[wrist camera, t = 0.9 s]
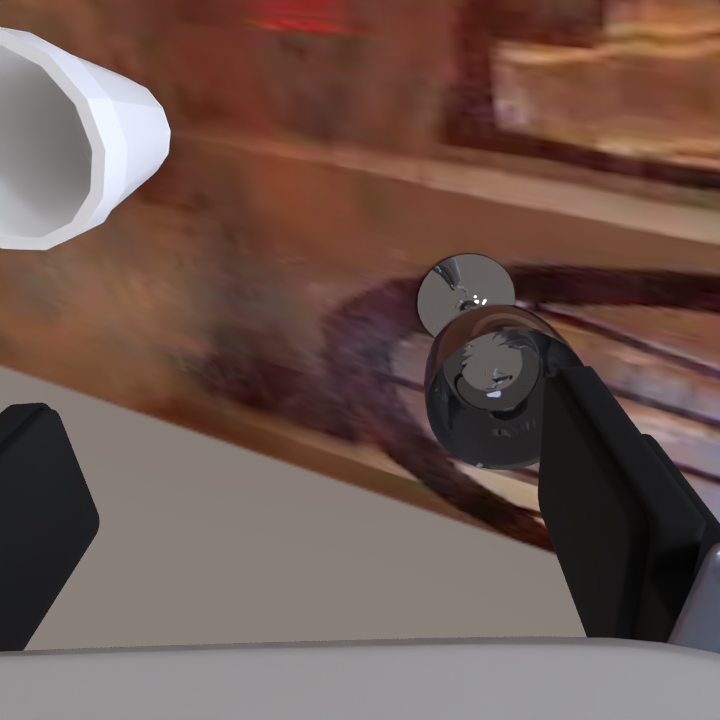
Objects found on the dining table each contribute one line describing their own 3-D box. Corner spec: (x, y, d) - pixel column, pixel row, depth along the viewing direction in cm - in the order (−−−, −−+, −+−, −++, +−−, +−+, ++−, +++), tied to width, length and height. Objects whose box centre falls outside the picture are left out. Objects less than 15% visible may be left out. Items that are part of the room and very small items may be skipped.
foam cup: (20, 112, 36) (-153, 121, 24) (116, 12, 34) (-26, -32, 22) (127, 230, 39) (20, 287, 28) (223, 146, 37) (149, 171, 25)
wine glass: (517, 348, 42) (581, 467, 29) (412, 352, 43) (427, 472, 29) (523, 244, 39) (600, 324, 25) (409, 251, 39) (425, 333, 26)
